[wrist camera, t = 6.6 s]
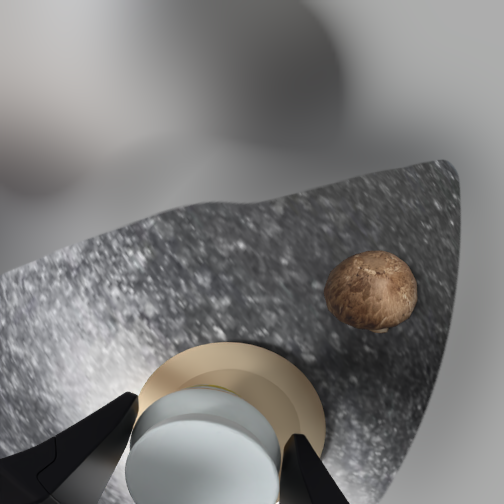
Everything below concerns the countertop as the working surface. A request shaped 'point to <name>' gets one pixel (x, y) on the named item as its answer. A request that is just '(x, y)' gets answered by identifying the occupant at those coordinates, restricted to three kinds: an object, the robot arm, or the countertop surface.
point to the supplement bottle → (203, 451)
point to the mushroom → (371, 291)
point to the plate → (246, 387)
